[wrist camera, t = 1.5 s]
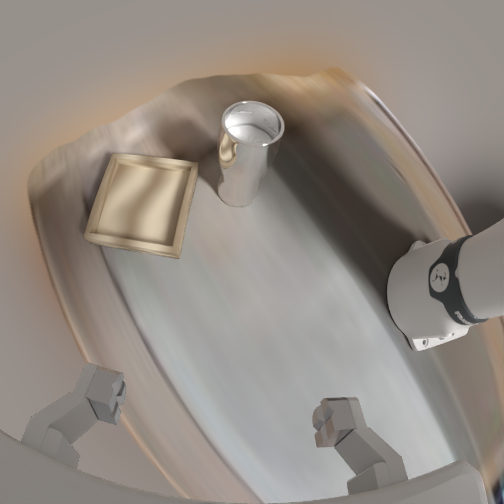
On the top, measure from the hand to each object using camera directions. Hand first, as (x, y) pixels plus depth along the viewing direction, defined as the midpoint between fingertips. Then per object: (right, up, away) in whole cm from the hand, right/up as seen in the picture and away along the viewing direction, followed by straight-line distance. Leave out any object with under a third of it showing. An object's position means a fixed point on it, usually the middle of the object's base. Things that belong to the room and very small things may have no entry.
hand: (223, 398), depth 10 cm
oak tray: (-14, +12, +28) cm, 34 cm away
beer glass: (-1, +15, +31) cm, 35 cm away
